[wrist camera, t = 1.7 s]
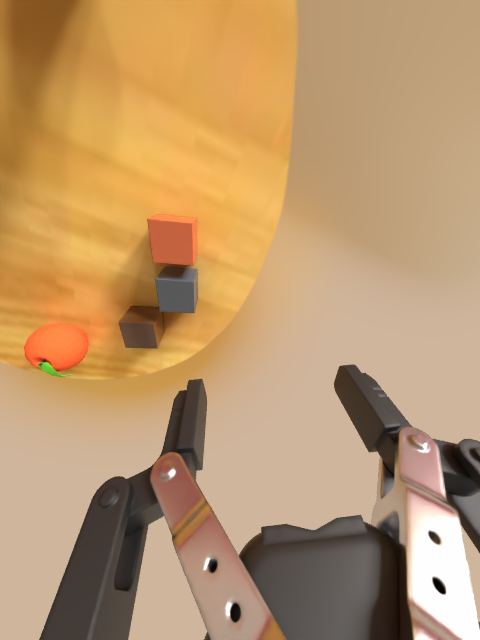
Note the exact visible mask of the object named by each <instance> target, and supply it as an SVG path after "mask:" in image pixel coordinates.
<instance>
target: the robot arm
mask: <svg viewBox="0 0 480 640" xmlns="http://www.w3.org/2000/svg"><path fill="white" fill-rule="evenodd" d="M334 388H335V391H336V393H337V395H338V397H339V399H340V401H341V403H342V404H343V406H344V408H345V410H346V411H347V413H348V415H349V417H350V419H351V421H352V422H353V424H354V426H355V428H356V430H357V431H358V433H359V435H360V437H361V439H362V440H363V442H364V444H365V446H366V448H367V449H368V451H369V452H376V451H378V453H379V455H380V456H381V457H380V460H379V473H378V486H377V499H376V503H375V506H374V509H373V513H372V519H371V524H368V523H365V522H364V521H363V519H362V517H361V515H357V516H349V517H340V518H336V519H334V520H332V521H331V522H329V523H327V524H325V525H324V526H322V527H320V528H318V529H317V530H308V529H305V528H300V527H296V526H292V525H288V524H282V525H274V526H265V527H261V533H259V534H258V535H256V536H255V537H253V538H252V539H251V540H250V541H249V542H248V543H247V544H246V545H245V547H244V548H243V549H242V551H241V552H240V554H239V555H238V554H237V552H236V550H235V548H234V547H233V545H232V543H231V542H230V540H229V538H228V536H227V534H226V533H225V531H224V529H223V527H222V526H221V524H220V522H219V520H218V519H217V517H216V515H215V514H214V512H213V510H212V508H211V506H210V505H209V503H208V502H207V500H206V499H205V497H204V495H203V493H202V491H201V490H200V488H199V486H198V484H197V483H196V471H197V470H202V467H203V453H204V439H205V425H206V411H207V396H206V392H205V388H204V384H203V380H202V379H196V380H189V381H188V385H187V390H184V391H179V393H178V395H177V396H176V397H175V399H174V402H173V407H172V411H171V416H170V420H169V424H168V429H167V433H166V437H165V442H164V446H163V450H162V453H161V455H160V457H159V458H158V460H157V461H156V462H155V463H154V464H153V465H152V466H151V467H150V468H148V469H147V470H145V471H143V472H141V473H139V474H137V475H135V476H132V477H130V478H128V479H125V478H124V477H120V476H118V477H113V478H111V479H109V480H108V481H106V482H105V483H104V484H103V485H102V486H101V487H100V488H99V489H98V490H97V492H96V493H95V495H94V496H93V498H92V501H91V503H90V506H89V508H88V511H87V514H86V516H85V519H84V522H83V525H82V528H81V530H80V533H79V535H78V538H77V541H76V544H75V546H74V549H73V551H72V554H71V557H70V560H69V562H68V565H67V567H66V570H65V573H64V576H63V578H62V581H61V583H60V586H59V589H58V592H57V594H56V597H55V599H54V602H53V605H52V608H51V610H50V613H49V615H48V618H47V621H46V624H45V626H44V629H43V631H42V634H41V637H40V639H39V640H128V637H129V630H130V626H131V620H132V614H133V609H134V603H135V597H136V591H137V586H138V581H139V575H140V569H141V564H142V558H143V552H144V547H145V541H146V535H147V530H148V525H149V524H150V523H152V522H154V521H156V520H158V519H159V518H161V517H163V516H165V519H166V521H167V524H168V526H169V529H170V531H171V534H172V541H173V545H174V548H175V550H176V553H177V556H178V558H179V560H180V563H181V566H182V568H183V571H184V573H185V576H186V578H187V581H188V583H189V586H190V588H191V591H192V594H193V596H194V598H195V601H196V604H197V606H198V609H199V611H200V614H201V616H202V618H203V621H204V623H205V626H206V629H207V634H206V636H205V639H204V640H480V622H479V621H478V620H477V614H476V609H475V603H474V597H473V592H472V586H471V581H470V575H469V569H468V563H467V557H466V551H465V546H464V540H463V534H462V529H461V525H462V527H463V528H464V530H465V531H466V533H467V534H468V536H469V537H470V539H471V540H472V542H473V544H474V545H475V547H476V548H477V549H478V551H479V553H480V442H479V441H476V440H472V439H464V440H462V441H461V442H459V443H458V444H454V443H449V442H445V441H440V440H436V439H432V438H431V437H430V436H429V435H427V434H426V433H425V432H423V431H421V430H419V429H417V428H414V427H412V426H411V425H410V424H409V422H408V421H407V420H406V419H405V417H404V416H403V415H402V414H401V412H400V411H399V410H398V409H397V407H396V406H395V405H394V404H393V402H392V401H391V400H390V399H389V397H387V395H386V393H385V392H384V391H383V390H381V387H380V386H379V385H378V383H377V382H376V381H375V380H374V379H373V378H372V377H370V376H369V375H367V374H366V373H361V372H360V370H359V369H358V368H357V366H355V365H343V366H340V367H339V369H338V372H337V375H336V378H335V382H334Z"/></svg>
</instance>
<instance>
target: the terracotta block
mask: <svg viewBox="0 0 480 640" xmlns="http://www.w3.org/2000/svg"><path fill="white" fill-rule="evenodd" d="M147 221H148V228H149V235H150V243H151V250H152V258H153V262H154V263H167V264H180V265H194V262H195V259H196V257H197V218H193V217H183V216H174V215H164V214H158V215H155V216H153V217H151V218H148V219H147Z"/></svg>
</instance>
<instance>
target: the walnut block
mask: <svg viewBox="0 0 480 640" xmlns="http://www.w3.org/2000/svg"><path fill="white" fill-rule="evenodd" d="M119 325H120V329H121V332H122V336H123V340H124V343H125V347H126V348H158V346H159V344H160V341H161V339H162V336H163V334H164V331H165V329H164V321H163V313H162V312H161V311H160V310H159V307H142V306H131V307H130V308H129V310H128V311H127V312H126V314H125V315H124V316H123V318H122V319H121V320H120V321H119Z"/></svg>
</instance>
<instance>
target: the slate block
mask: <svg viewBox="0 0 480 640" xmlns="http://www.w3.org/2000/svg"><path fill="white" fill-rule="evenodd" d="M155 280H156V288H157V295H158V302H159V310H160V311H161V312H181V313H195V309H196V304H197V300H198V270H197V269H185V268H172V267H164V268H163V270H162V271H161V272H160V274H159V275H158V276H157V278H156V279H155Z"/></svg>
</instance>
